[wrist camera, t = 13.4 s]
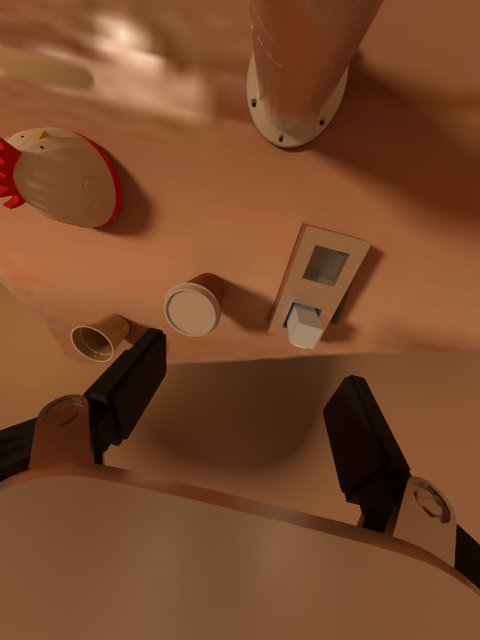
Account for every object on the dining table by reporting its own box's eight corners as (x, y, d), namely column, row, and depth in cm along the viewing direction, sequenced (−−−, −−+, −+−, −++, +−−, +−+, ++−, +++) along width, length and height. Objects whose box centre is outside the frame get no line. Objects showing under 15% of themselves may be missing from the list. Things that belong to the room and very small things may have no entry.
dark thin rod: (355, 248, 35) (357, 249, 34) (361, 249, 35) (363, 250, 34) (331, 322, 43) (332, 325, 42) (336, 323, 43) (337, 325, 42)
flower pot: (103, 300, 48) (72, 317, 40) (141, 320, 49) (117, 341, 42) (97, 328, 52) (68, 348, 45) (131, 345, 54) (108, 368, 46)
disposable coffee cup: (228, 312, 45) (215, 344, 34) (186, 303, 45) (161, 332, 35) (234, 270, 40) (222, 292, 30) (187, 260, 40) (159, 279, 30)
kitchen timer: (128, 160, 33) (37, 132, 20) (116, 239, 40) (43, 256, 27) (43, 113, 32) (-112, 50, 19) (46, 204, 39) (-67, 203, 26)
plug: (293, 297, 40) (299, 322, 31) (312, 303, 40) (323, 330, 32) (284, 317, 42) (288, 345, 34) (303, 322, 42) (311, 352, 34)
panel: (302, 223, 34) (307, 225, 30) (359, 238, 34) (372, 242, 30) (268, 320, 45) (267, 333, 40) (311, 332, 45) (316, 346, 40)
